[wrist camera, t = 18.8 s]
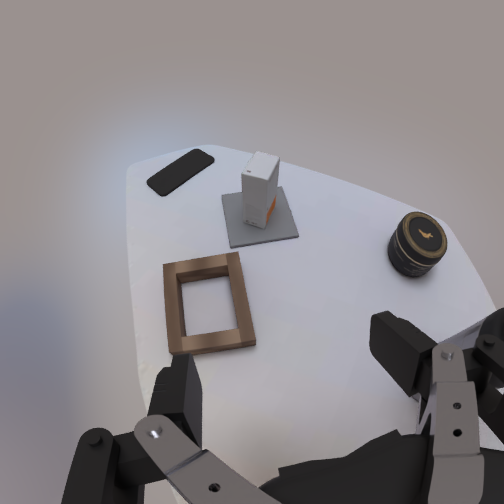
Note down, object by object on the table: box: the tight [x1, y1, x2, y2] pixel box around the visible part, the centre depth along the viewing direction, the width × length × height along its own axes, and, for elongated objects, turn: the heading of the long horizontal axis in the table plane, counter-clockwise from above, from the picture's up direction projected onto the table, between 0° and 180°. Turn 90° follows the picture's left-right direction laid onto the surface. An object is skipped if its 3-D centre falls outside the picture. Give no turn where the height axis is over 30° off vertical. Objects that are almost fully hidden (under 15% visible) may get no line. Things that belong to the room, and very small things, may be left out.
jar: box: [388, 212, 447, 277], centre depth 43 cm, size 10×10×8 cm
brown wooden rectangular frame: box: [163, 252, 256, 355], centre depth 41 cm, size 12×14×4 cm
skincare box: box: [241, 151, 280, 229], centre depth 46 cm, size 6×4×12 cm
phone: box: [147, 149, 215, 196], centre depth 58 cm, size 7×1×15 cm
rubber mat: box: [222, 186, 299, 248], centre depth 51 cm, size 12×12×1 cm
